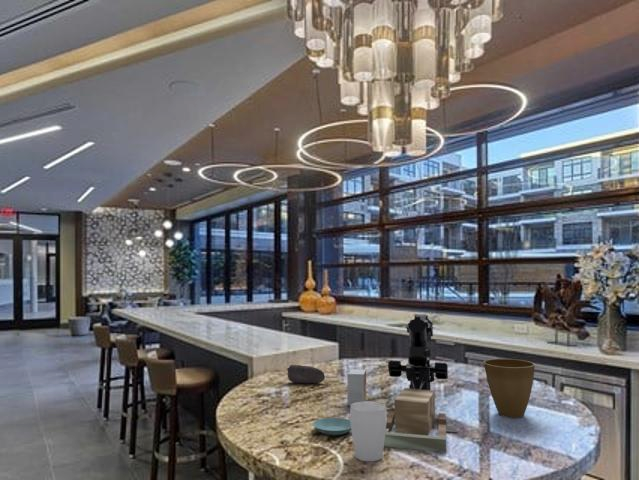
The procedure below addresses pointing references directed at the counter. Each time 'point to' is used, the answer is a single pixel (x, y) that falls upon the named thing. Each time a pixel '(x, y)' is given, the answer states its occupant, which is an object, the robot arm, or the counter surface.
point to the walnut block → (415, 411)
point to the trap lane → (418, 436)
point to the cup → (368, 429)
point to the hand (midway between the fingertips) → (417, 393)
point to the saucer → (333, 426)
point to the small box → (356, 386)
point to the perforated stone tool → (305, 374)
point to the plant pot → (510, 385)
